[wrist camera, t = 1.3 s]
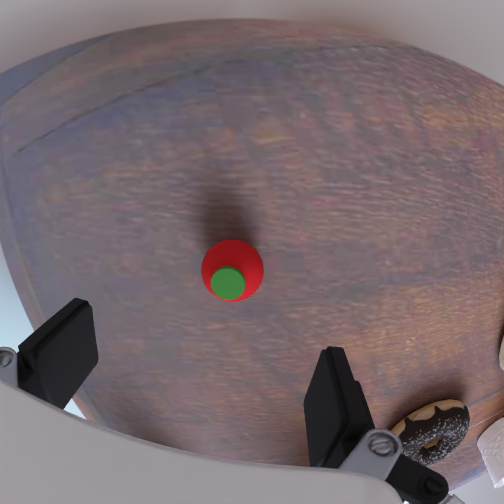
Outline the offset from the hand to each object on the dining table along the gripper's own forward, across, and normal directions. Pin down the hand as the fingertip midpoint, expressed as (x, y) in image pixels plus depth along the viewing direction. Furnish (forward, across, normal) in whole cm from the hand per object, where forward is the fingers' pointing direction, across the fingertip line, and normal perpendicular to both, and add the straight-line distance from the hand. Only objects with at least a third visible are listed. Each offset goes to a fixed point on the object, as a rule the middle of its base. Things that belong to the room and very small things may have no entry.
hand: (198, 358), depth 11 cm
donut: (+11, -25, +17) cm, 32 cm away
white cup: (+11, -43, +22) cm, 50 cm away
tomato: (+11, 0, 0) cm, 11 cm away
